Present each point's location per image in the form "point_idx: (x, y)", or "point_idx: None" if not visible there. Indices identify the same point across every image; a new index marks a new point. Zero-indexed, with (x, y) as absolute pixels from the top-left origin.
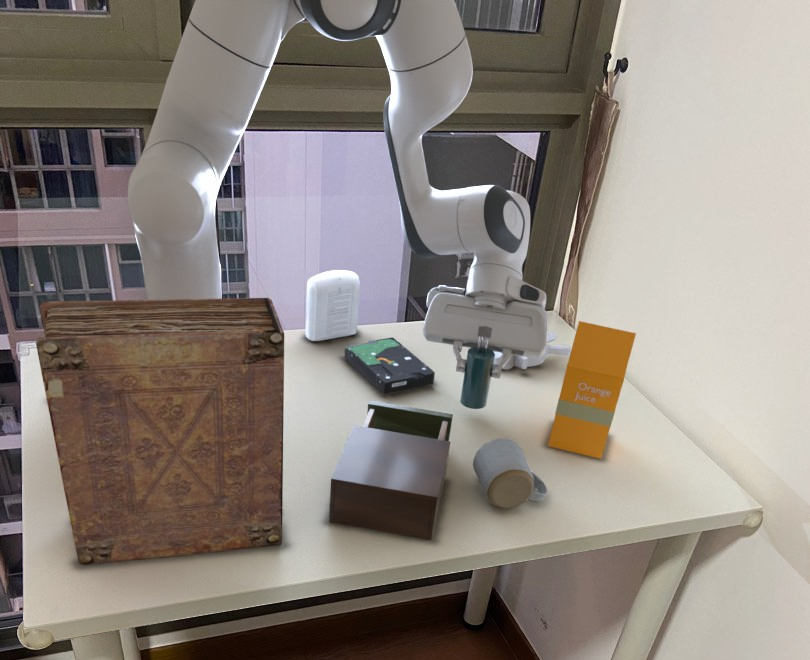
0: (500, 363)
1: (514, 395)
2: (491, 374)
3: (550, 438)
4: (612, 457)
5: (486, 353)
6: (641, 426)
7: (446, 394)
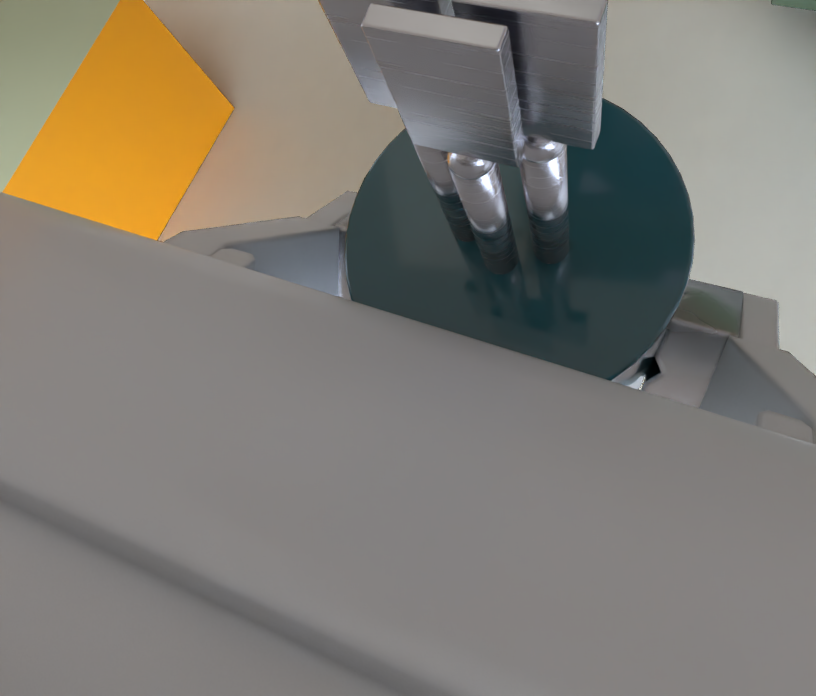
0: (314, 227)
1: None
2: None
3: (210, 83)
4: None
5: (445, 230)
6: None
7: None
